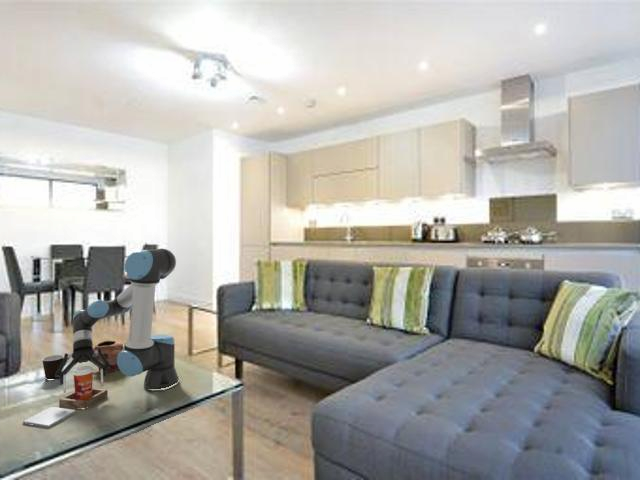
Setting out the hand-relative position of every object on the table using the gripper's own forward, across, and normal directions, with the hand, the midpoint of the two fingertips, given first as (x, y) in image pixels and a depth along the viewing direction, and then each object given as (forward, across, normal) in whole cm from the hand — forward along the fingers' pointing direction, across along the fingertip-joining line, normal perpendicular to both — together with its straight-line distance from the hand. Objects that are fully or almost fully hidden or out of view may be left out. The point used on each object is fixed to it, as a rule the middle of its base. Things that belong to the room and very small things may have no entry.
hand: (83, 387), depth 164 cm
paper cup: (+3, 0, -6) cm, 7 cm away
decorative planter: (-22, -10, -32) cm, 40 cm away
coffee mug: (-23, +11, -32) cm, 41 cm away
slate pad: (+10, +11, +1) cm, 15 cm away
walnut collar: (+3, 0, -6) cm, 7 cm away
